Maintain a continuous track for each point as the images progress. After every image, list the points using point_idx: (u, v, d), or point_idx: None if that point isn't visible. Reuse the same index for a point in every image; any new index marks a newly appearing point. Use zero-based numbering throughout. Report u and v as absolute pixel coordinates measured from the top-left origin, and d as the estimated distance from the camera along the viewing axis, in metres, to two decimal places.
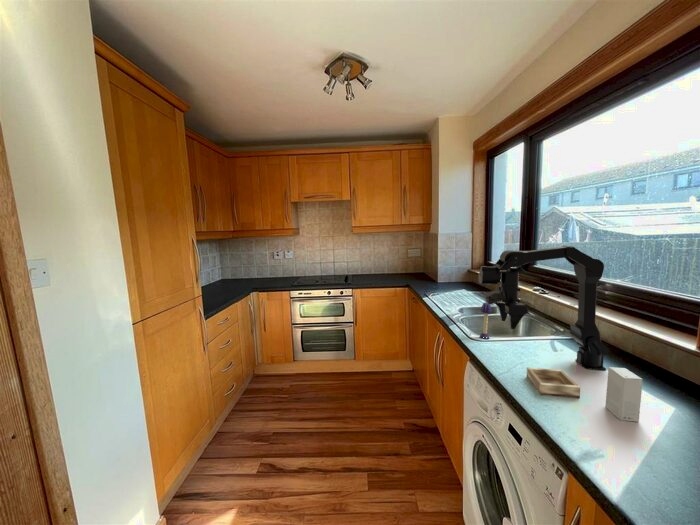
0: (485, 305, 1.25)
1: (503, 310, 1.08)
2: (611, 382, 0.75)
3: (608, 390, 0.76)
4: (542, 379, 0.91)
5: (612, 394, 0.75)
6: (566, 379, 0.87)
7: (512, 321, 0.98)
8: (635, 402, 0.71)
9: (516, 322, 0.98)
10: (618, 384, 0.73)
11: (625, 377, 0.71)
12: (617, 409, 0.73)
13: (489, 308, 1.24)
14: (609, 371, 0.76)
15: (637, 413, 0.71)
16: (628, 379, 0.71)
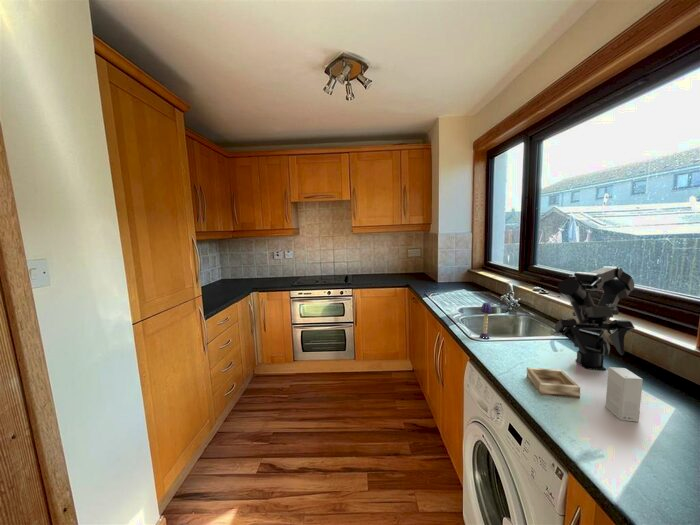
0: (485, 305, 1.25)
1: None
2: (611, 382, 0.75)
3: (608, 390, 0.76)
4: (542, 379, 0.91)
5: (612, 393, 0.75)
6: (566, 379, 0.87)
7: None
8: (635, 402, 0.71)
9: None
10: (618, 384, 0.73)
11: (625, 377, 0.71)
12: (617, 409, 0.73)
13: (489, 308, 1.24)
14: (609, 371, 0.76)
15: (637, 413, 0.71)
16: (628, 379, 0.71)
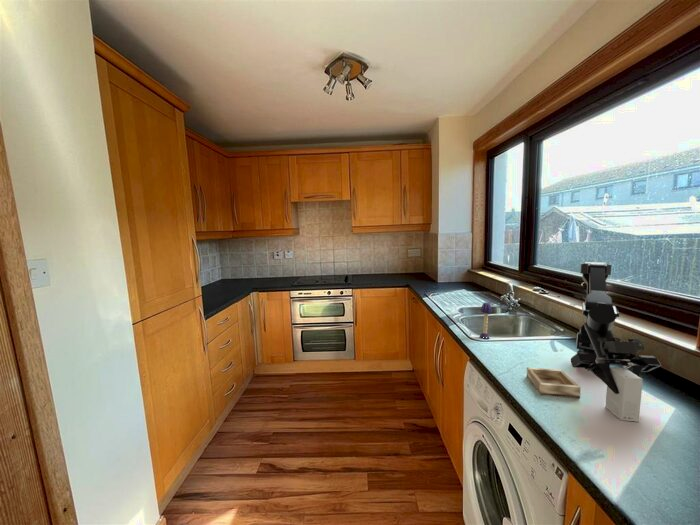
0: (485, 305, 1.25)
1: None
2: None
3: (608, 390, 0.76)
4: (542, 379, 0.91)
5: (612, 393, 0.75)
6: (566, 379, 0.87)
7: None
8: (635, 402, 0.71)
9: None
10: (618, 384, 0.73)
11: (625, 377, 0.71)
12: (617, 409, 0.73)
13: (489, 308, 1.24)
14: None
15: (637, 413, 0.71)
16: (628, 379, 0.71)
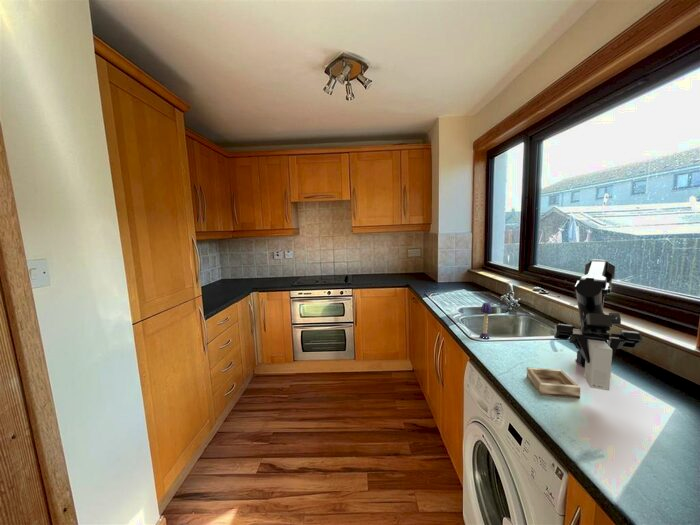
0: (485, 305, 1.25)
1: None
2: None
3: None
4: (542, 379, 0.91)
5: (587, 364, 0.79)
6: (566, 379, 0.87)
7: None
8: (605, 371, 0.74)
9: None
10: (590, 354, 0.76)
11: (595, 347, 0.75)
12: (588, 377, 0.77)
13: (489, 308, 1.24)
14: (587, 343, 0.79)
15: (607, 382, 0.74)
16: (597, 348, 0.74)
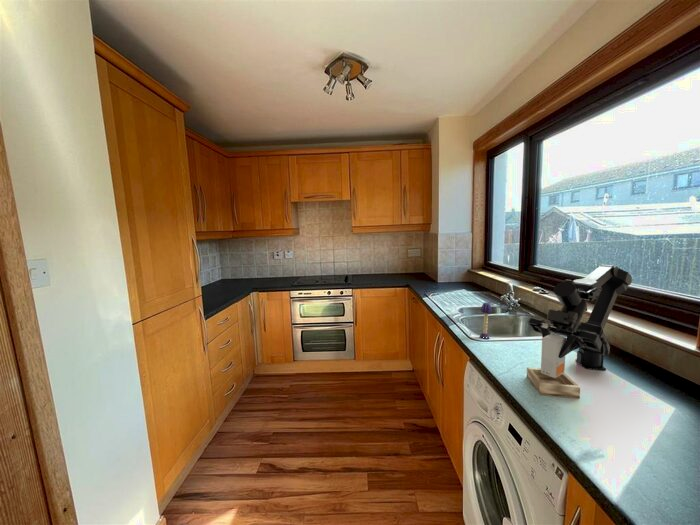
0: (485, 305, 1.25)
1: None
2: None
3: None
4: (542, 379, 0.91)
5: None
6: (566, 379, 0.87)
7: (567, 349, 0.84)
8: (551, 360, 0.85)
9: (567, 352, 0.84)
10: None
11: (545, 337, 0.86)
12: None
13: (489, 308, 1.24)
14: None
15: (553, 370, 0.84)
16: (545, 339, 0.86)
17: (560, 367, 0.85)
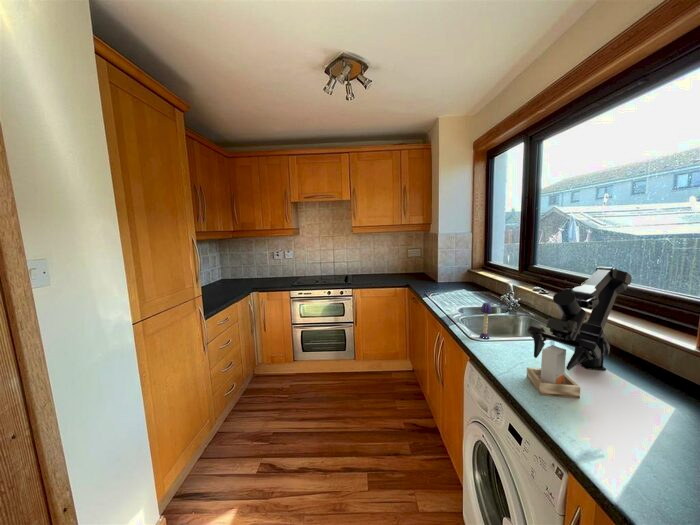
0: (485, 305, 1.25)
1: (539, 346, 0.91)
2: None
3: None
4: None
5: None
6: (566, 379, 0.87)
7: (575, 360, 0.82)
8: (551, 372, 0.85)
9: (575, 364, 0.82)
10: None
11: (545, 349, 0.86)
12: None
13: (489, 308, 1.24)
14: None
15: (552, 382, 0.85)
16: (545, 350, 0.86)
17: (560, 379, 0.86)
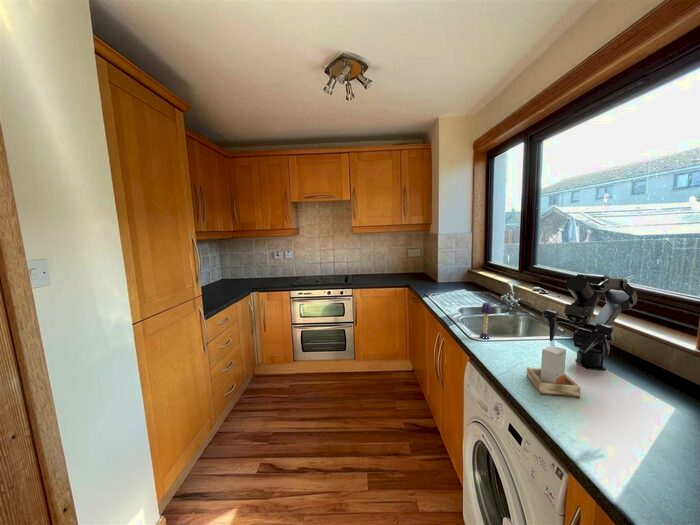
0: (485, 305, 1.25)
1: (554, 329, 0.95)
2: None
3: None
4: None
5: None
6: (566, 379, 0.87)
7: (591, 344, 0.86)
8: (551, 372, 0.85)
9: (591, 346, 0.87)
10: None
11: (545, 349, 0.87)
12: None
13: (489, 308, 1.24)
14: None
15: (552, 382, 0.85)
16: (545, 350, 0.86)
17: (560, 379, 0.86)
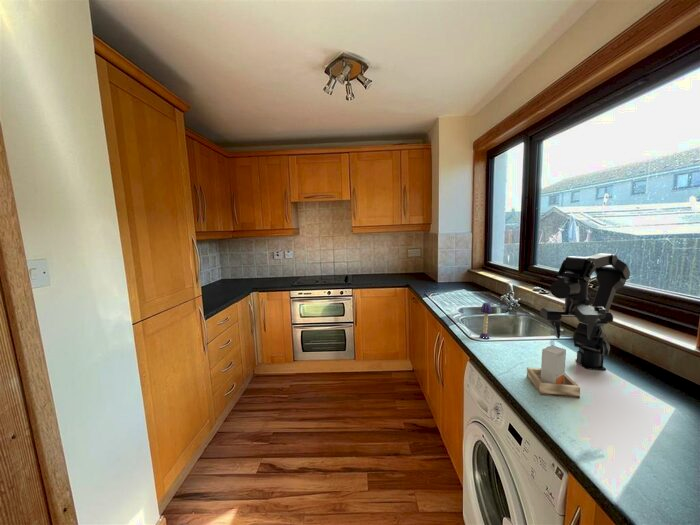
0: (485, 305, 1.25)
1: None
2: None
3: None
4: None
5: None
6: (566, 379, 0.87)
7: None
8: (551, 372, 0.85)
9: None
10: None
11: (545, 349, 0.86)
12: None
13: (489, 308, 1.24)
14: None
15: (552, 382, 0.85)
16: (545, 350, 0.86)
17: (560, 379, 0.86)
